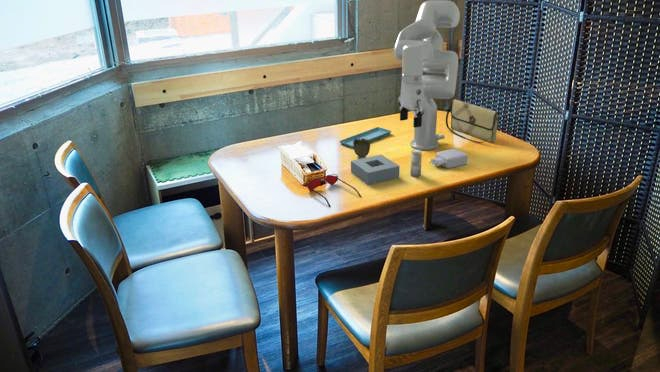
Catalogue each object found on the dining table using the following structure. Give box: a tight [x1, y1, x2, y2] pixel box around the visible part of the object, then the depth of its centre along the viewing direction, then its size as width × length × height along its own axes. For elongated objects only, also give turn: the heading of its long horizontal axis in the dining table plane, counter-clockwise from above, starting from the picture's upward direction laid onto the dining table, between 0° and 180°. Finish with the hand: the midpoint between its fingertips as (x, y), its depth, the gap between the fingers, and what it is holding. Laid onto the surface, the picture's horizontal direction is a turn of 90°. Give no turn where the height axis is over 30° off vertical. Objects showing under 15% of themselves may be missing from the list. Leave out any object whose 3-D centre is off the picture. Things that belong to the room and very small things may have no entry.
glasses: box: [306, 173, 362, 208], centre depth 202 cm, size 14×16×5 cm
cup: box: [353, 138, 372, 159], centre depth 233 cm, size 8×7×8 cm
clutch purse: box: [445, 98, 500, 144], centre depth 252 cm, size 30×7×15 cm, turn 33°
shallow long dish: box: [338, 126, 392, 149], centre depth 255 cm, size 26×9×2 cm, turn 133°
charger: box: [429, 148, 468, 169], centre depth 225 cm, size 5×9×15 cm
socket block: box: [350, 154, 401, 186], centre depth 217 cm, size 14×14×5 cm
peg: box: [410, 149, 423, 178], centre depth 215 cm, size 4×4×10 cm
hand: (410, 123), depth 209 cm, fingers open, 9 cm apart
